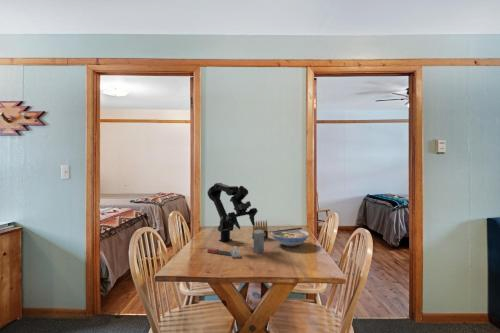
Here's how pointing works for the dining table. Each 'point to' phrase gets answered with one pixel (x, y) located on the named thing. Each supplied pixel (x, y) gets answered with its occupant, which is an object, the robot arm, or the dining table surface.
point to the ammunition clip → (260, 228)
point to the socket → (258, 241)
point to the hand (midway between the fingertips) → (246, 227)
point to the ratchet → (225, 252)
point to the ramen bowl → (290, 236)
